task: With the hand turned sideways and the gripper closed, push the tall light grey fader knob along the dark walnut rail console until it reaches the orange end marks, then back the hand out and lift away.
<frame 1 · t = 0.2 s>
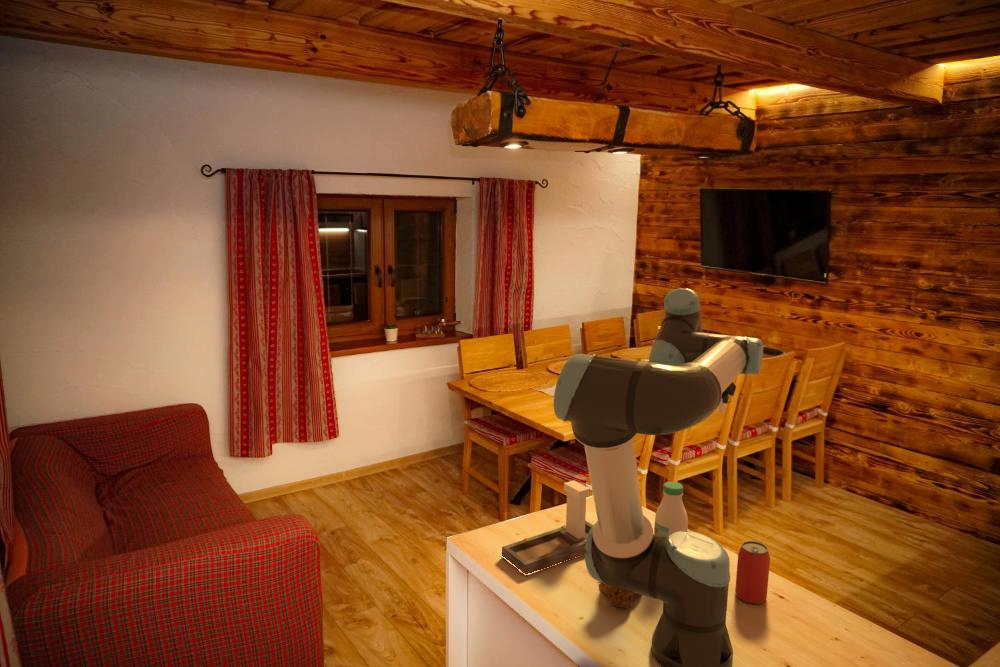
hand: (694, 405, 173), 35 cm above the counter, tool tilted 35°, fingers open, 13 cm apart
milk bottle: (668, 562, 166), on the counter
fader rail: (556, 551, 170), on the counter
stuffed squirrel: (620, 597, 152), on the counter
beer can: (750, 597, 152), on the counter
fader knob: (575, 512, 172), point 9 cm above the counter, slide at 0.0 cm
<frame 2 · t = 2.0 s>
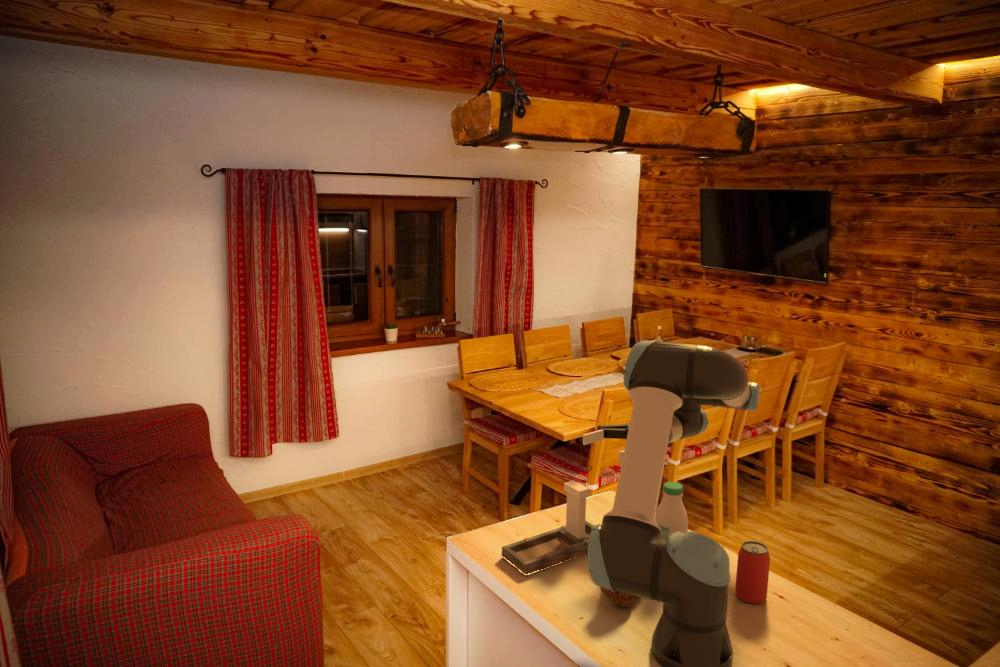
hand: (601, 448, 173), 24 cm above the counter, tool horizontal, fingers open, 13 cm apart
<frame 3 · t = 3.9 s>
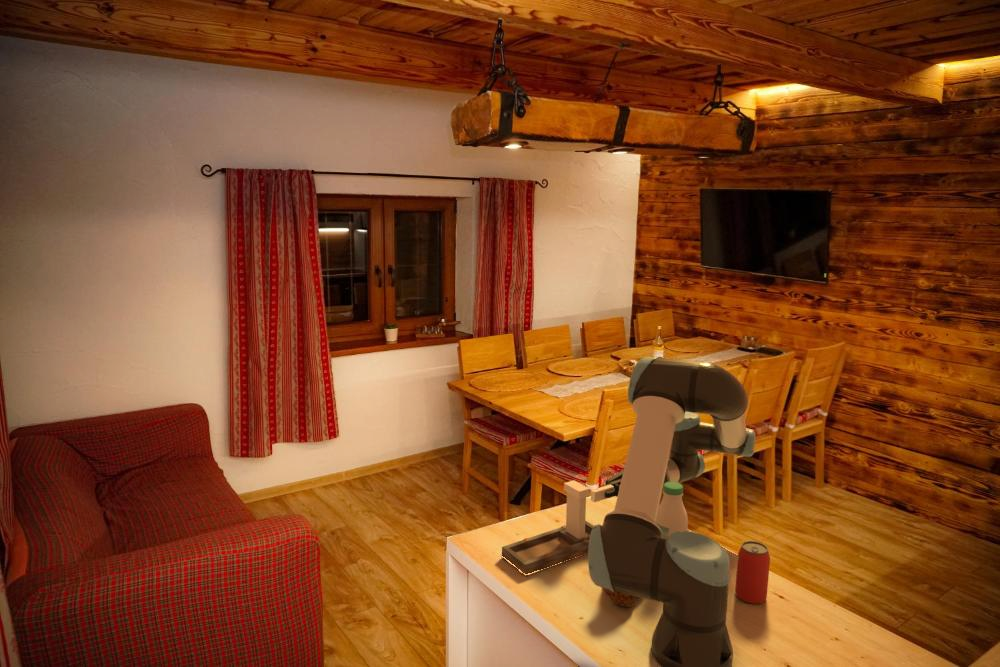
hand: (592, 496, 175), 12 cm above the counter, tool horizontal, fingers closed
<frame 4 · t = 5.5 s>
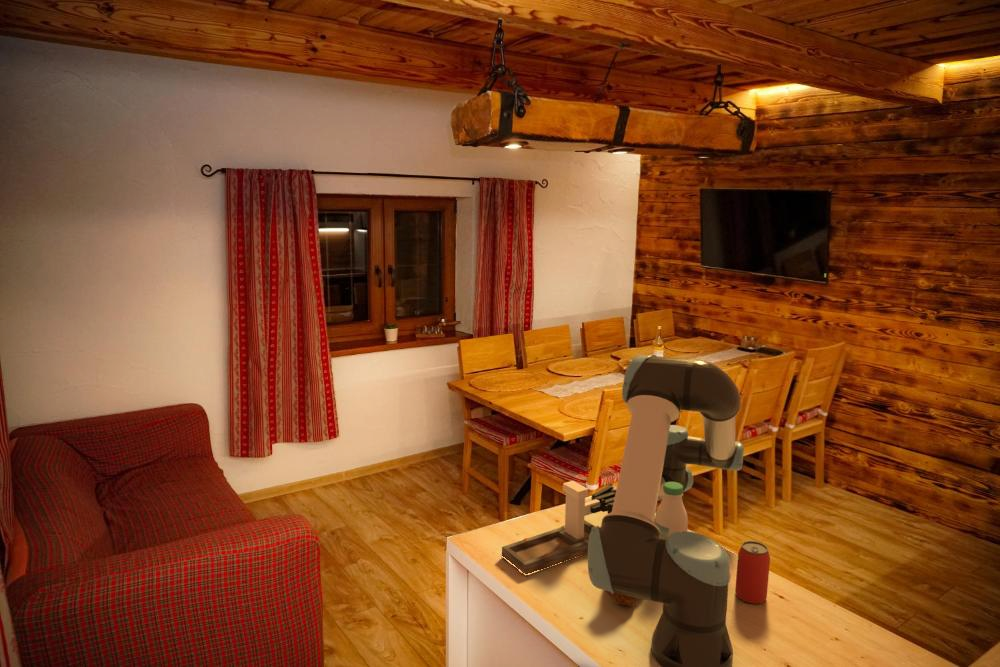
hand: (578, 511, 172), 9 cm above the counter, tool horizontal, fingers closed
fader knob: (574, 513, 172), point 9 cm above the counter, slide at 0.3 cm, touching gripper
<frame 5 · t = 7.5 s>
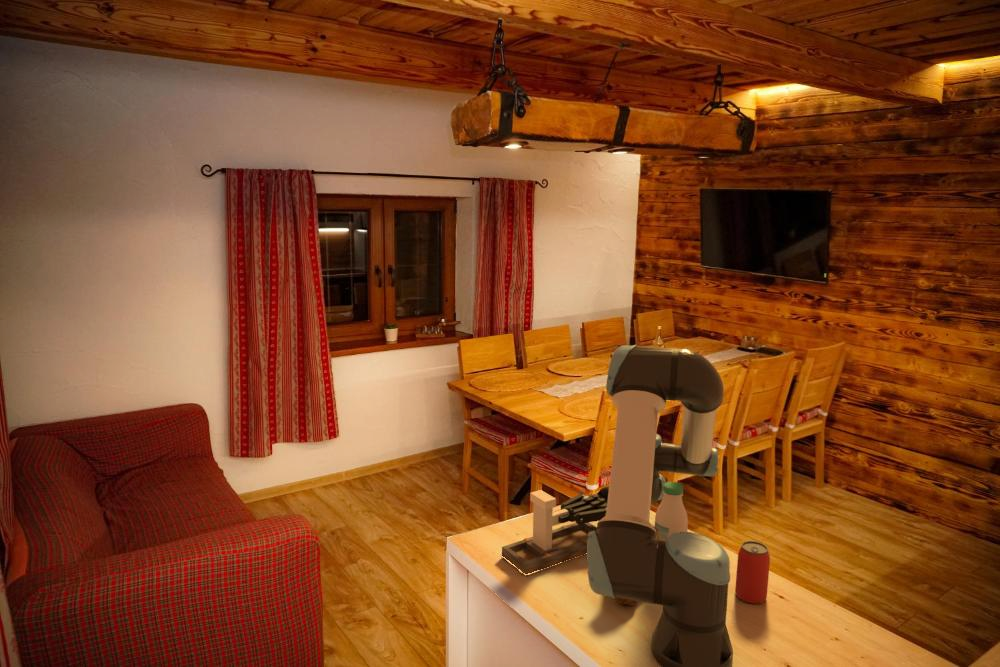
hand: (545, 521, 167), 9 cm above the counter, tool horizontal, fingers closed
fader knob: (542, 523, 166), point 9 cm above the counter, slide at 10.5 cm, touching gripper
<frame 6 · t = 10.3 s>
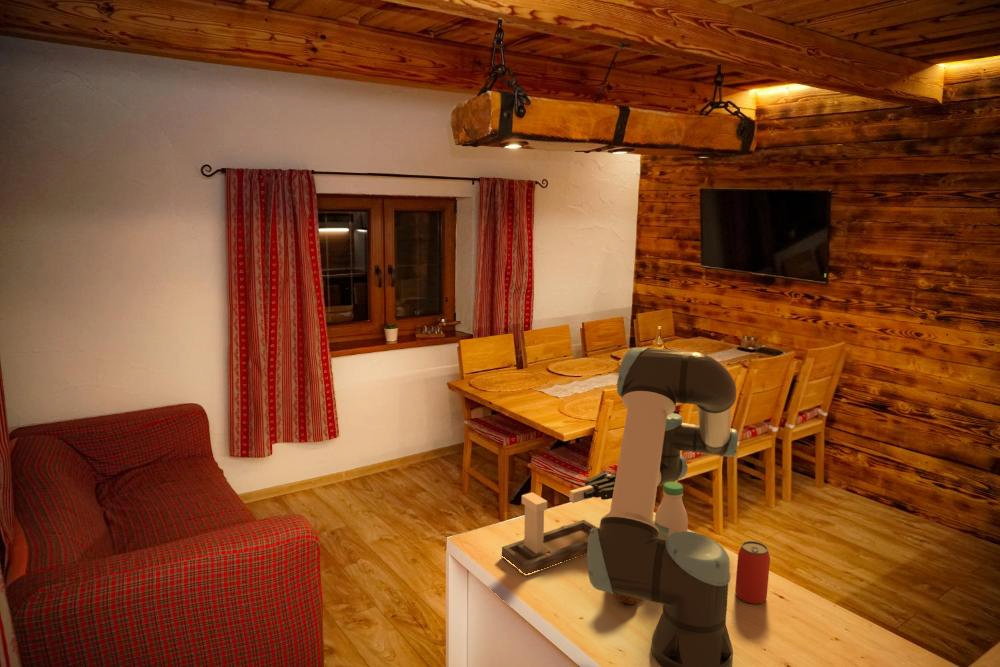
hand: (571, 496, 171), 13 cm above the counter, tool horizontal, fingers closed
fader knob: (534, 526, 165), point 9 cm above the counter, slide at 13.0 cm
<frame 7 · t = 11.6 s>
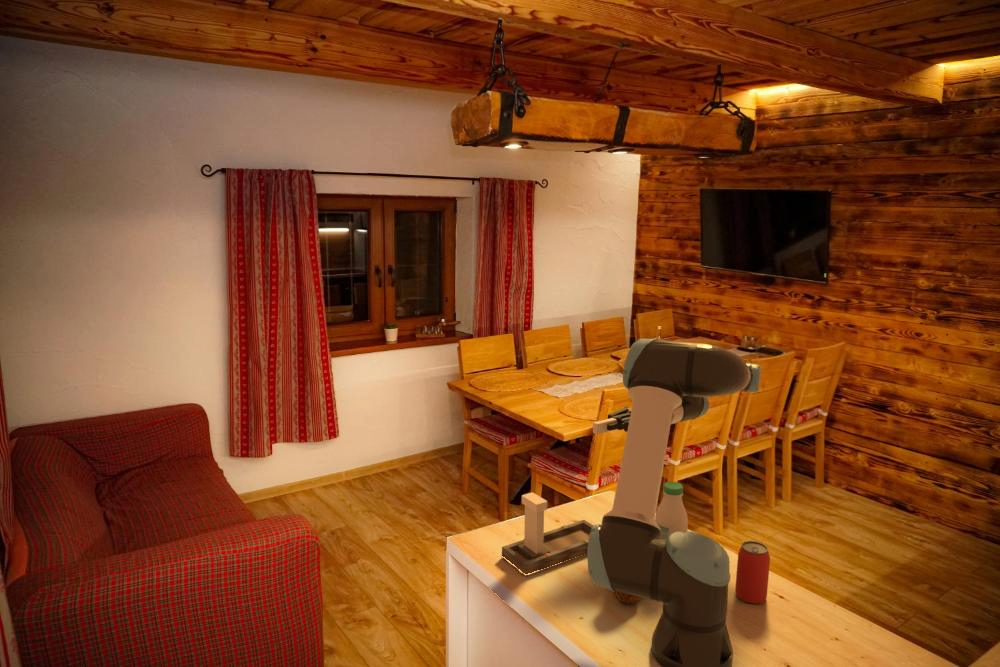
hand: (595, 428, 171), 30 cm above the counter, tool horizontal, fingers closed
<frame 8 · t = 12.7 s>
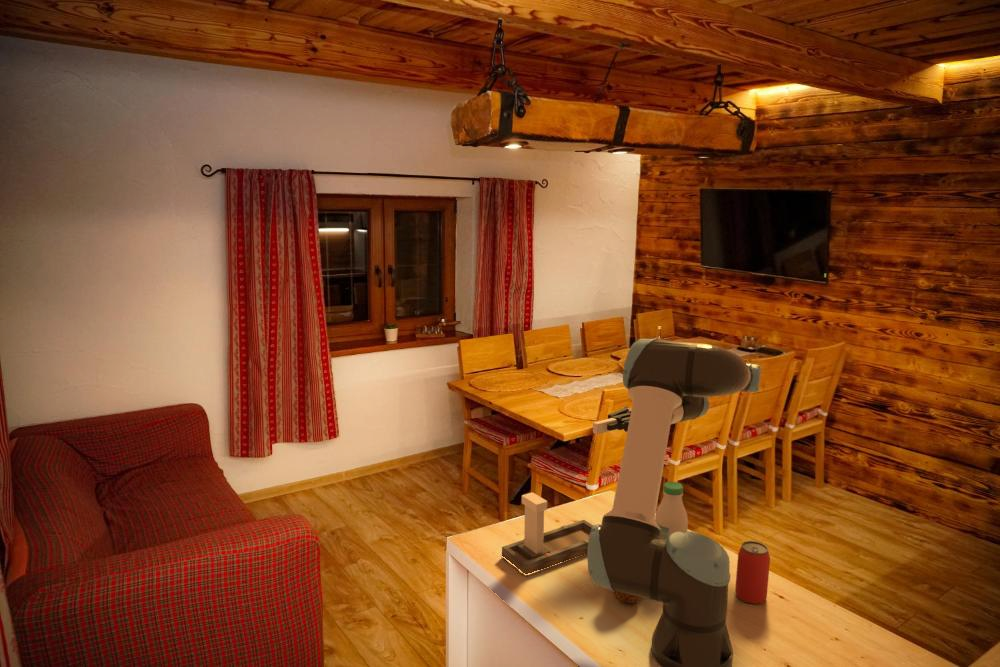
hand: (595, 428, 171), 30 cm above the counter, tool horizontal, fingers closed
at the end: fader knob slide at 13.0 cm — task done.
